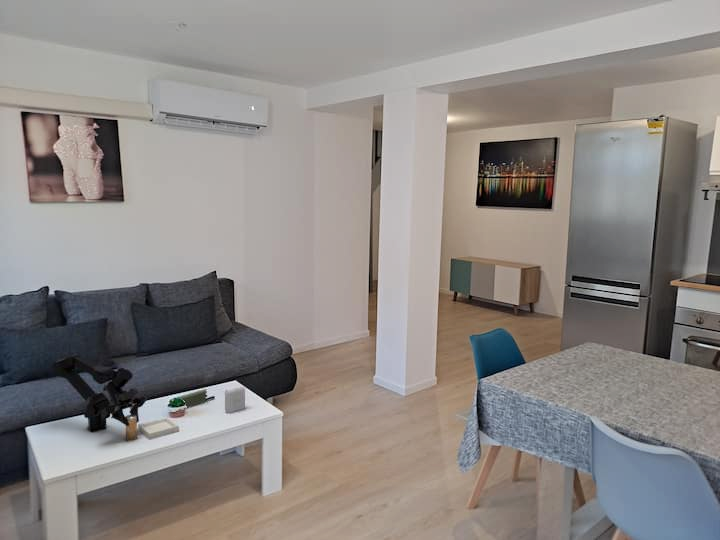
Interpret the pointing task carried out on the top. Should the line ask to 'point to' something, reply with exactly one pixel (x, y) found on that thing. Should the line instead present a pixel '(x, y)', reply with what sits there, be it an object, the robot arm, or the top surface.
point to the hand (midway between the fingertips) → (133, 423)
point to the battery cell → (131, 427)
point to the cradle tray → (158, 428)
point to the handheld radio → (195, 398)
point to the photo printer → (234, 398)
